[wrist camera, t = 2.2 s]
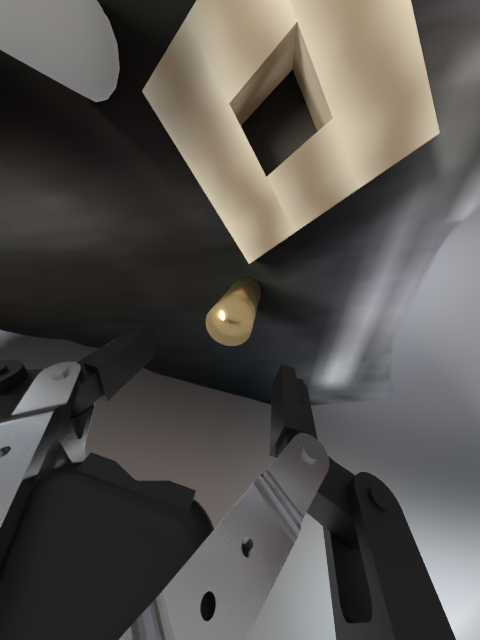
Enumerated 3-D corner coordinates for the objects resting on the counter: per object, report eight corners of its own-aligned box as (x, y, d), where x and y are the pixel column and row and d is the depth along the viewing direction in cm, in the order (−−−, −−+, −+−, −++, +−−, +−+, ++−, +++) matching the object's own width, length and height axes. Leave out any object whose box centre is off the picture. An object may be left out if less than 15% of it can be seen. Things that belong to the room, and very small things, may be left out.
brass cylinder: (242, 310, 24) (223, 352, 16) (226, 287, 23) (196, 318, 14) (266, 296, 23) (260, 334, 14) (250, 271, 22) (233, 294, 13)
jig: (252, 260, 21) (249, 263, 18) (166, 117, 17) (141, 91, 14) (405, 154, 15) (439, 133, 12) (330, -115, 10) (353, -261, 7)
